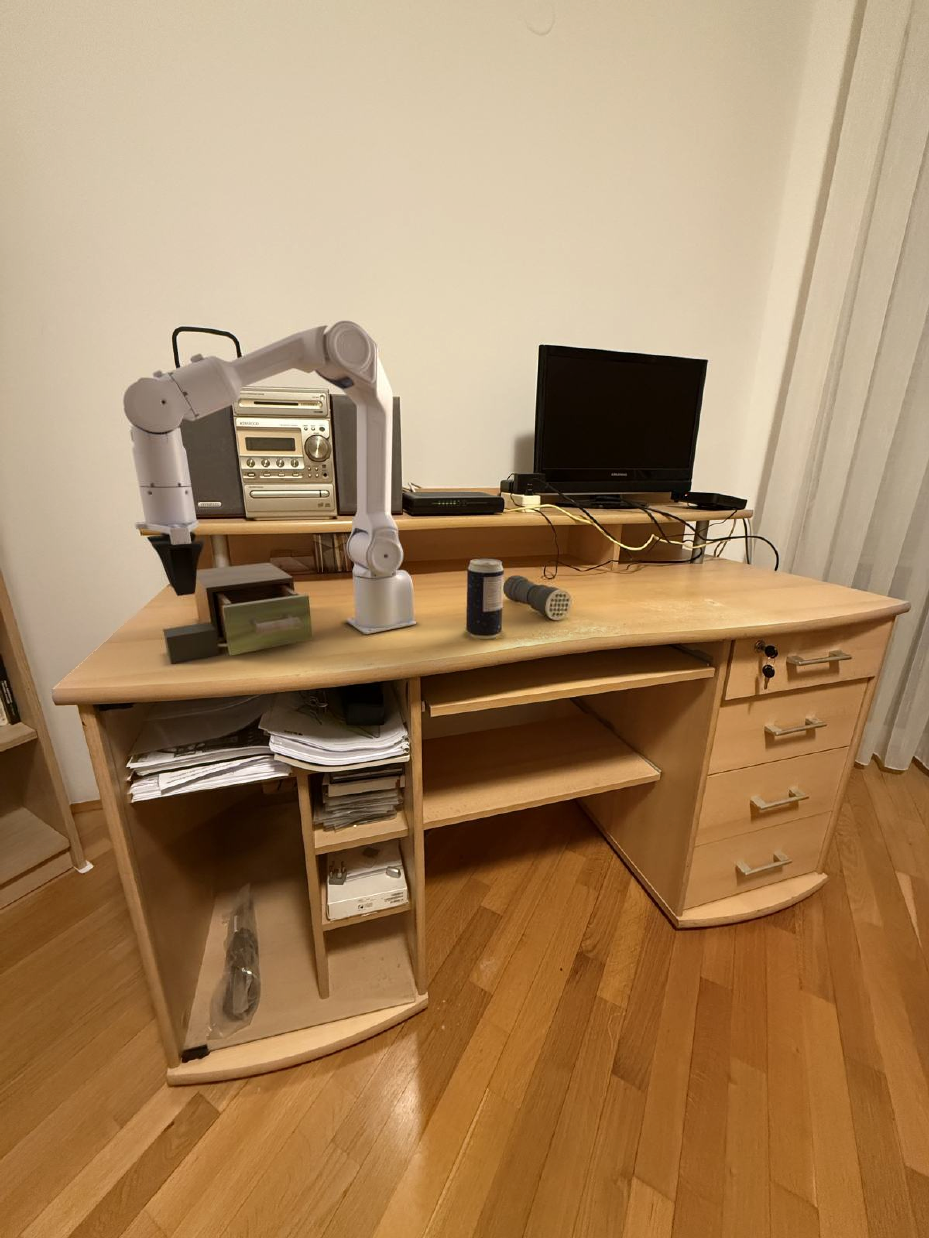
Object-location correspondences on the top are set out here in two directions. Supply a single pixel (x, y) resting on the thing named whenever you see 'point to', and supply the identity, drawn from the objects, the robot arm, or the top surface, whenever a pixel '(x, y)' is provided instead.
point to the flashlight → (538, 597)
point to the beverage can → (484, 598)
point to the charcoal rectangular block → (191, 642)
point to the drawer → (262, 617)
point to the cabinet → (233, 586)
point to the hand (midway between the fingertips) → (183, 590)
